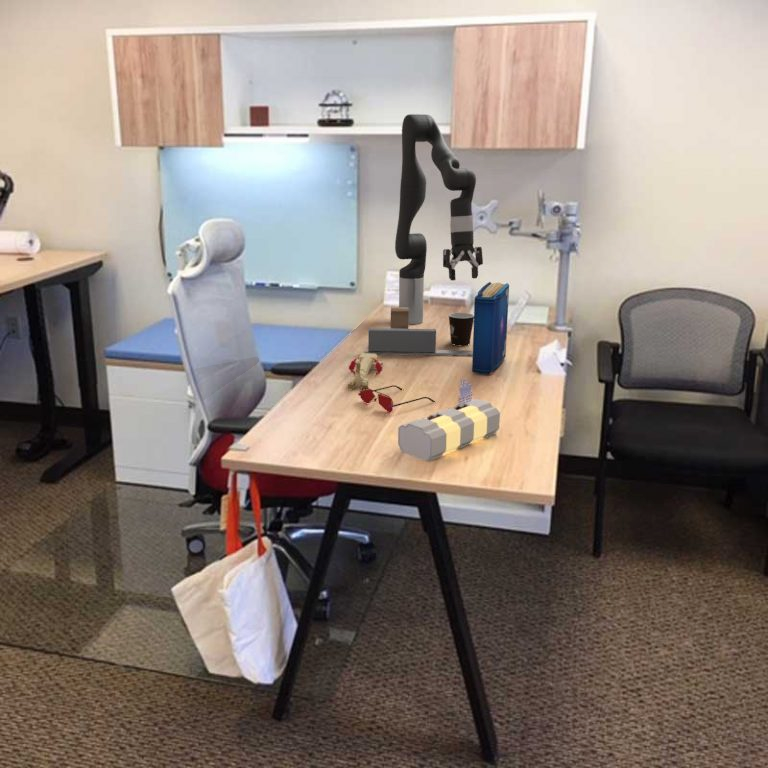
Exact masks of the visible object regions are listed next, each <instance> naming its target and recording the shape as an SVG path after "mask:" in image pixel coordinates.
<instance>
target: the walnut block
mask: <svg viewBox="0 0 768 768" xmlns="http://www.w3.org/2000/svg"><path fill="white" fill-rule="evenodd" d="M408 317H409V307H399V306H391V307H390V328H395V329H409V324H408Z"/></svg>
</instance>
